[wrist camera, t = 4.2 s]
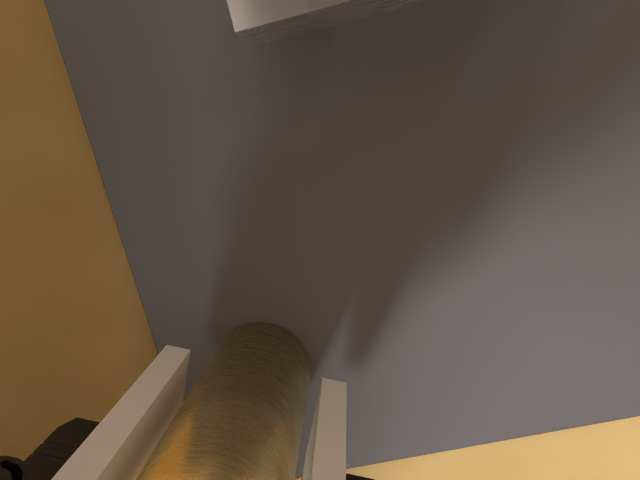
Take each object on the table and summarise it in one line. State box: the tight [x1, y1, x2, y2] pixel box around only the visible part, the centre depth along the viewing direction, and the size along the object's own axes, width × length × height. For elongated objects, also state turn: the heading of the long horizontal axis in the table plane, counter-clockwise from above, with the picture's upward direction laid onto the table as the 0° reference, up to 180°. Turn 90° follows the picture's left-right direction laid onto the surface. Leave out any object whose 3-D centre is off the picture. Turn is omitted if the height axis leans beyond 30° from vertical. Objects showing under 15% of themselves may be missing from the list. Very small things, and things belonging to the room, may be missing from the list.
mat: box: [44, 0, 640, 478], centre depth 16 cm, size 19×25×1 cm
